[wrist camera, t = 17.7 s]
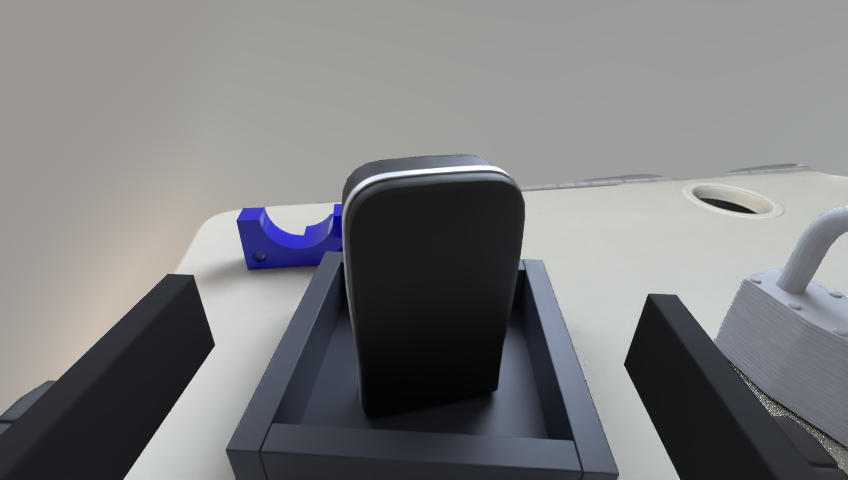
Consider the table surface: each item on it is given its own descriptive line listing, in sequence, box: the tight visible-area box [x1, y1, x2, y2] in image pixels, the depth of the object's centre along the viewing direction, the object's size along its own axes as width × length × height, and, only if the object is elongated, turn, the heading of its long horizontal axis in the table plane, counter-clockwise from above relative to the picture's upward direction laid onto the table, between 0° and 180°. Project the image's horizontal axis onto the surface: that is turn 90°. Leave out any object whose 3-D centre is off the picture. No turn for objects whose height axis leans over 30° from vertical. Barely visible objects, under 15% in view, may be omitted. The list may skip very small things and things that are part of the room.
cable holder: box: [237, 204, 343, 269], centre depth 32 cm, size 8×4×4 cm, turn 98°
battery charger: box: [341, 155, 525, 417], centre depth 18 cm, size 7×4×11 cm, turn 104°
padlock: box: [714, 206, 848, 448], centre depth 19 cm, size 7×4×10 cm, turn 19°
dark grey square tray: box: [226, 251, 619, 480], centre depth 21 cm, size 13×13×4 cm
